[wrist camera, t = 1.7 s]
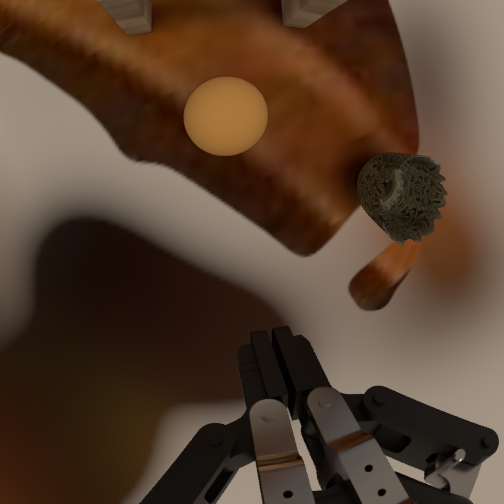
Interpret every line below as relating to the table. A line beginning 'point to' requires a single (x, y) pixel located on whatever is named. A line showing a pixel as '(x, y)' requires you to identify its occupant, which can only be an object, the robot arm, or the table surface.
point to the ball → (225, 116)
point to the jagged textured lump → (401, 194)
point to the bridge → (140, 13)
